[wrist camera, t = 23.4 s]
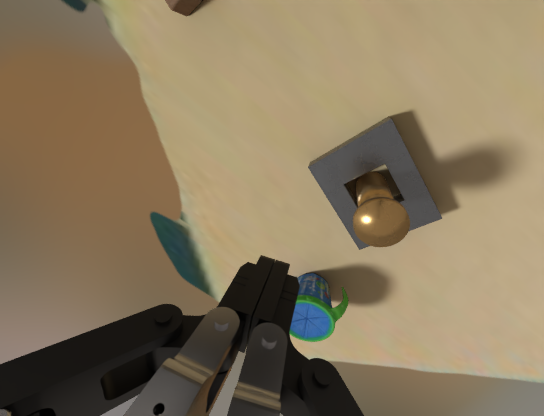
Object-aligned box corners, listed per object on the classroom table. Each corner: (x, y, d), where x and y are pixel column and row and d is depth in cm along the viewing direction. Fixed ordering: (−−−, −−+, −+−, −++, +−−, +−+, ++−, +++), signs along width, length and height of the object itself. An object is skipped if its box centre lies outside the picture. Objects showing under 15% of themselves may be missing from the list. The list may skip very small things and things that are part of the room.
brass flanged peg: (344, 179, 45) (343, 214, 33) (381, 160, 43) (395, 191, 30) (362, 209, 47) (367, 253, 34) (398, 192, 44) (419, 235, 32)
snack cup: (341, 260, 53) (340, 296, 44) (354, 300, 56) (355, 341, 47) (272, 270, 58) (258, 304, 49) (287, 306, 62) (277, 343, 53)
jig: (310, 162, 46) (307, 167, 43) (388, 116, 40) (391, 118, 37) (358, 241, 50) (359, 249, 47) (436, 210, 44) (442, 218, 41)
